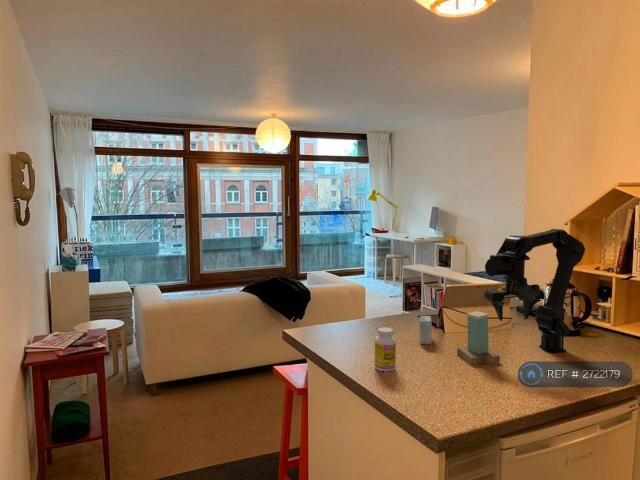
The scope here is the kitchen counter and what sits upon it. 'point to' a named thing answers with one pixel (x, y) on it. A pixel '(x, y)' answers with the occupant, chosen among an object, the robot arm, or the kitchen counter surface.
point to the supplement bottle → (385, 350)
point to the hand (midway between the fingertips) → (513, 319)
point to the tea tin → (477, 332)
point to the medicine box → (425, 330)
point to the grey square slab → (478, 357)
